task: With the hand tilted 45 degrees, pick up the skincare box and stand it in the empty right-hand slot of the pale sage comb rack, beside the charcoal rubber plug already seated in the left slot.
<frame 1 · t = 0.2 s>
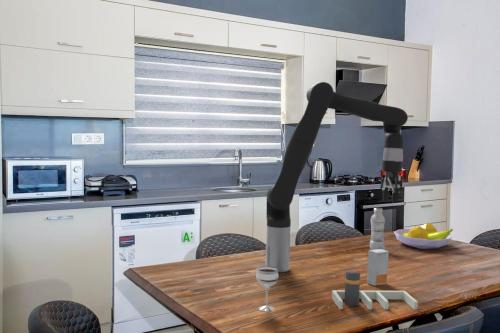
hand: (390, 201, 182), 28 cm above the table, tool pointing down, fingers open, 8 cm apart
fruit bowl: (423, 246, 229), on the table
plastic bottle: (376, 251, 216), on the table
wineglass: (266, 309, 139), on the table
comb rack: (373, 304, 145), on the table
charcoal plug: (351, 304, 145), on the table
skincare box: (377, 284, 166), on the table
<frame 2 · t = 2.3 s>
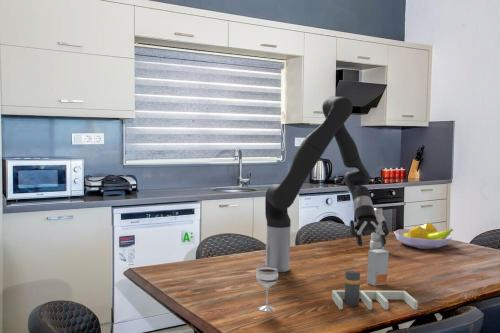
hand: (372, 245, 173), 12 cm above the table, tool tilted 45°, fingers open, 8 cm apart
nothing on the table moved.
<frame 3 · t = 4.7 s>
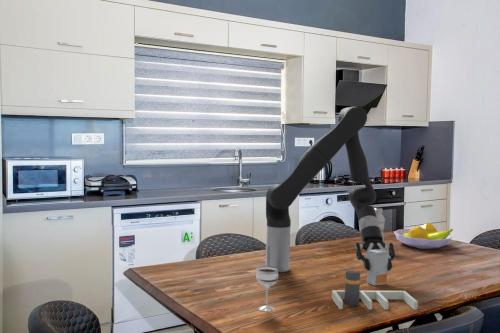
hand: (379, 269, 165), 6 cm above the table, tool tilted 45°, fingers closed on skincare box, 7 cm apart
skincare box: (377, 284, 166), on the table, touching gripper
everything else where it was.
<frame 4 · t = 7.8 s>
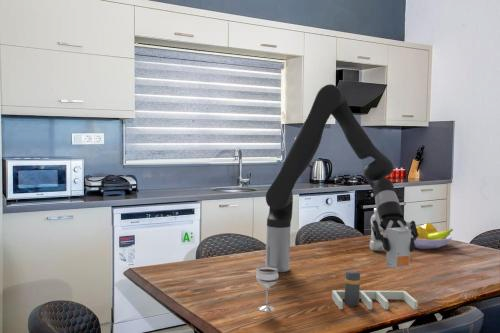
hand: (400, 250, 143), 17 cm above the table, tool tilted 45°, fingers closed on skincare box, 7 cm apart
skincare box: (397, 267, 145), point 12 cm above the table, touching gripper
everything else where it was.
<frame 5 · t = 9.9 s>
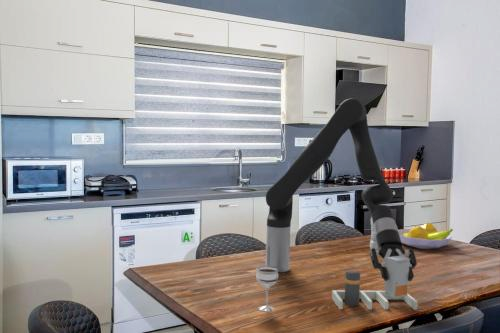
hand: (398, 279, 144), 8 cm above the table, tool tilted 45°, fingers closed on skincare box, 7 cm apart
skincare box: (396, 296, 145), point 3 cm above the table, touching gripper
everything else where it was.
when the fingers open (7 cm above the table, at t = 10.9 s): skincare box drops 2 cm, on the table.
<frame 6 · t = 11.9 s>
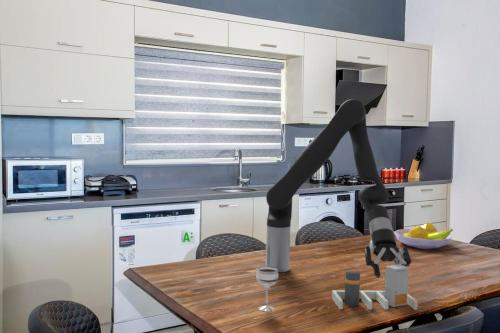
hand: (392, 276, 148), 8 cm above the table, tool tilted 45°, fingers open, 8 cm apart
skincare box: (395, 304, 146), on the table
everything else where it was.
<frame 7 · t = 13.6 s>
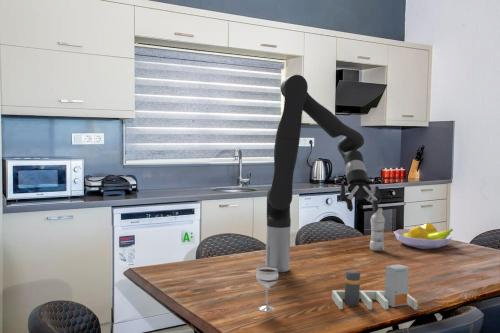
hand: (363, 210, 161), 27 cm above the table, tool tilted 45°, fingers open, 8 cm apart
nothing on the table moved.
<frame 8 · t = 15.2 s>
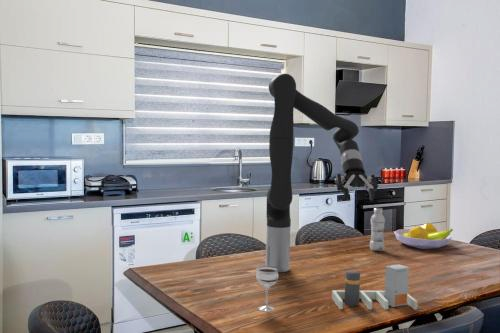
hand: (360, 199, 162), 31 cm above the table, tool tilted 45°, fingers open, 8 cm apart
nothing on the table moved.
at the end: skincare box inside the target area (0.3 cm from its centre), on the table; skincare box tilted 0°; charcoal plug moved 0.0 cm from its start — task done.
